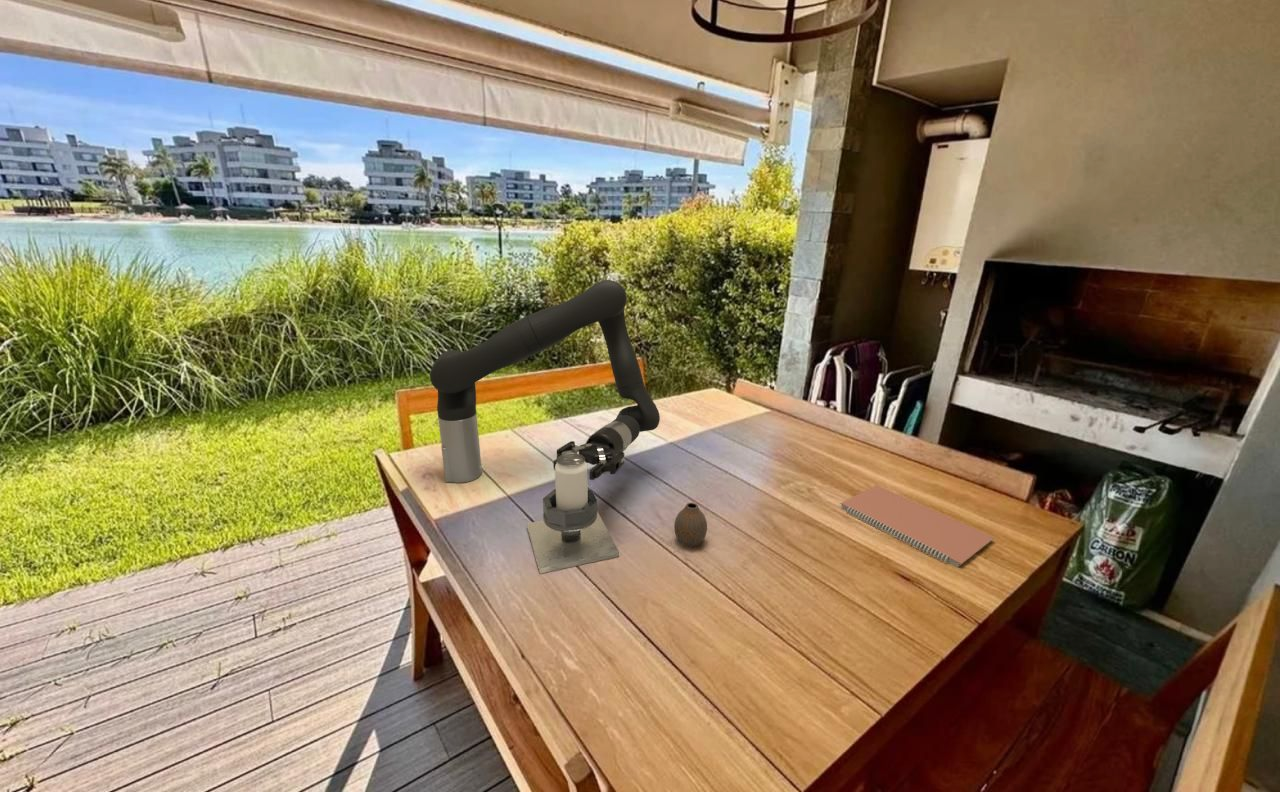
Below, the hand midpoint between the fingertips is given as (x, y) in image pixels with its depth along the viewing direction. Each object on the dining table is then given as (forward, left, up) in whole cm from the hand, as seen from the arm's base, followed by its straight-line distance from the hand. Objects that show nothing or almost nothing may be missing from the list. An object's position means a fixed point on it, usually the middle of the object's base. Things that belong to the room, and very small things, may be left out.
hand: (572, 471), depth 101 cm
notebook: (+74, -20, -17) cm, 78 cm away
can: (-1, -1, -9) cm, 9 cm away
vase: (+23, -9, -16) cm, 30 cm away
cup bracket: (-1, -1, -16) cm, 16 cm away
